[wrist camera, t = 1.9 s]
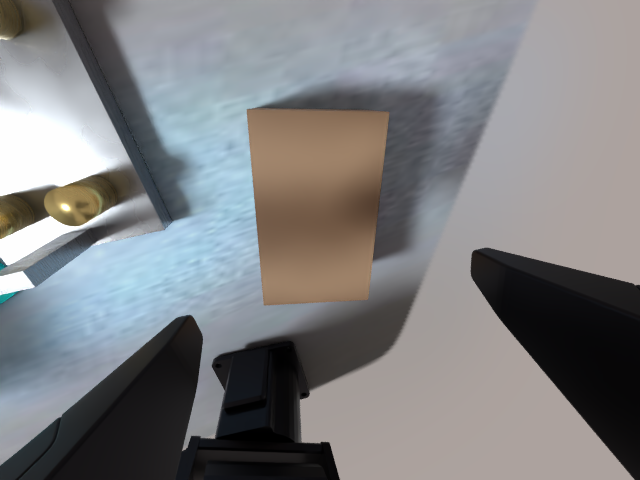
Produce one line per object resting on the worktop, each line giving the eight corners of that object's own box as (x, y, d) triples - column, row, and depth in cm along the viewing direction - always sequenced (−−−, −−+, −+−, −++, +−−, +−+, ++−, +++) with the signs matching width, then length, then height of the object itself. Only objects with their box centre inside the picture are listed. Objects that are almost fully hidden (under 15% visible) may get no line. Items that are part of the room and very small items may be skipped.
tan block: (353, 264, 20) (367, 299, 16) (268, 267, 19) (264, 305, 16) (366, 109, 16) (389, 112, 12) (256, 107, 15) (246, 109, 11)
